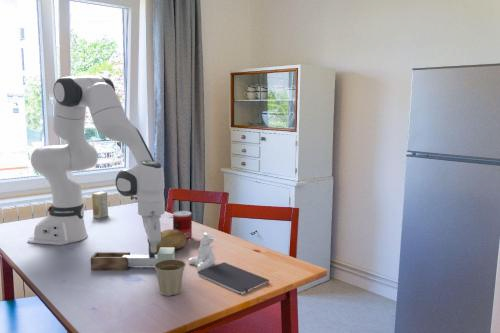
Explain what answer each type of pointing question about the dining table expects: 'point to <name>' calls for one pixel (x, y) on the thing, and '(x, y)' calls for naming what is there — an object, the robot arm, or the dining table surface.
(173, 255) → the pale green block
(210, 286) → the dining table surface
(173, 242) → the bread roll
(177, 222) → the canned food
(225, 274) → the notebook
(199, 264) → the sitting furry creature
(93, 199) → the skincare box
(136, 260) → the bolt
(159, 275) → the flower pot
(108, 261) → the open wooden box
